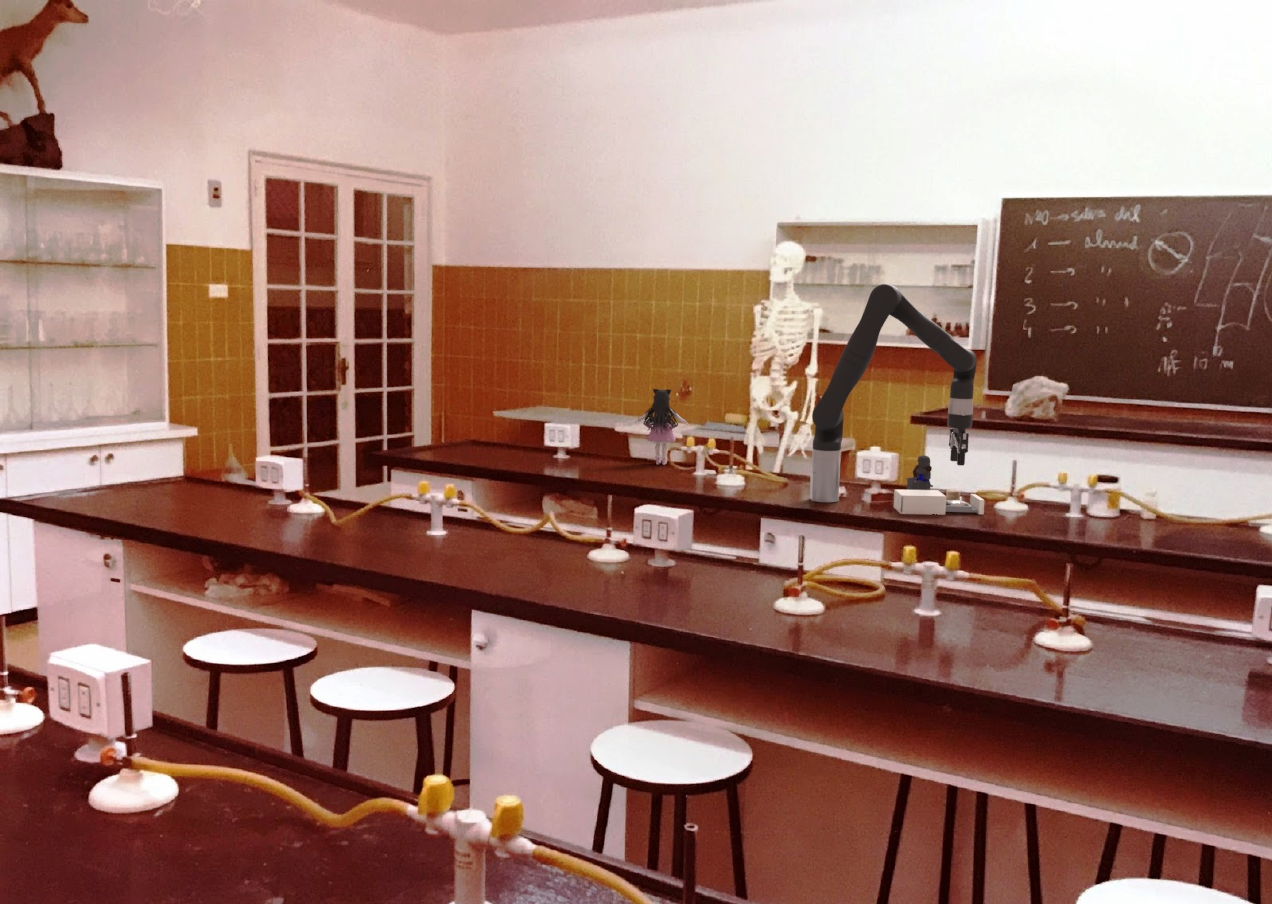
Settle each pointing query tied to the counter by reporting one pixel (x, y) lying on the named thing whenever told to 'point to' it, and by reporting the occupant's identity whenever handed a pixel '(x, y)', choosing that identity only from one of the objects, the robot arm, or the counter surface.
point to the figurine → (661, 423)
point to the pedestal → (952, 495)
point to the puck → (955, 503)
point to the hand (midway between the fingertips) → (957, 463)
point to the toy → (920, 475)
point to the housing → (919, 502)
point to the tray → (969, 506)
